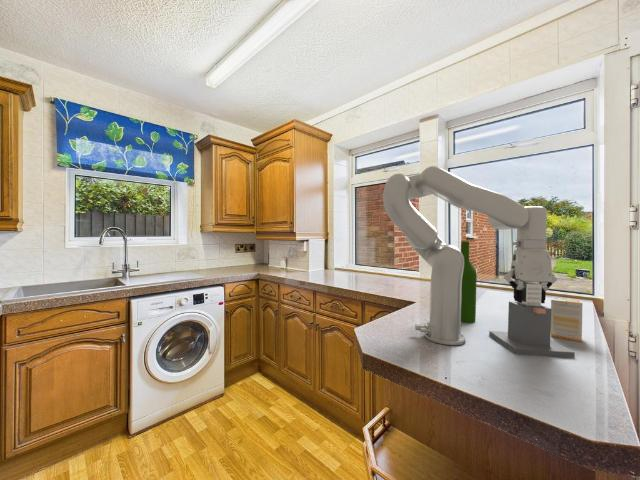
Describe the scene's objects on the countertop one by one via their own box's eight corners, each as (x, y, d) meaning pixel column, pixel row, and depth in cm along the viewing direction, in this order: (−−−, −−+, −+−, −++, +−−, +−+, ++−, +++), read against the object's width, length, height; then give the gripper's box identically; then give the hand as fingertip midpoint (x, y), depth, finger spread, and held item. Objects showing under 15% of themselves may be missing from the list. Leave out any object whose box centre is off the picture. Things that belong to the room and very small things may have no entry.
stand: (515, 354, 84) (516, 310, 84) (489, 335, 100) (490, 298, 100) (574, 357, 82) (576, 312, 82) (538, 337, 98) (539, 300, 98)
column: (524, 342, 89) (526, 280, 88) (514, 336, 94) (516, 278, 94) (542, 343, 88) (544, 281, 88) (531, 337, 93) (533, 278, 93)
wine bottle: (479, 321, 117) (482, 241, 116) (467, 324, 112) (469, 241, 111) (459, 315, 124) (461, 241, 124) (446, 318, 120) (448, 241, 119)
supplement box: (581, 338, 98) (582, 300, 98) (581, 342, 95) (583, 303, 94) (550, 332, 104) (551, 296, 103) (549, 336, 100) (551, 299, 100)
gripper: (508, 245, 88) (506, 303, 88) (569, 246, 86) (567, 306, 86) (496, 244, 95) (494, 298, 96) (551, 245, 93) (550, 300, 94)
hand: (529, 301), depth 91 cm, fingers open, 5 cm apart
